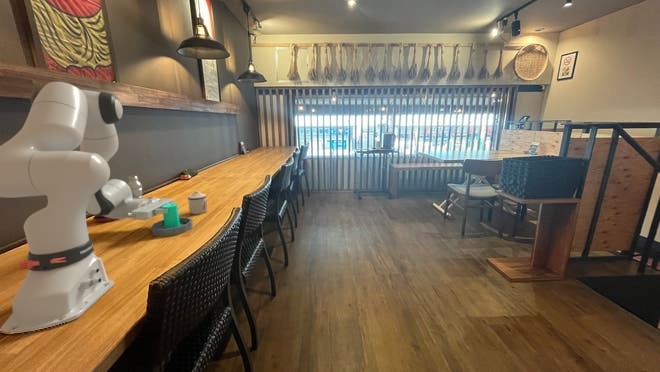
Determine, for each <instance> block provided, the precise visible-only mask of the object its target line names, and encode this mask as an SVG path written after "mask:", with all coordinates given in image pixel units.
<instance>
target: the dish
mask: <svg viewBox="0 0 660 372" xmlns="http://www.w3.org/2000/svg"><path fill="white" fill-rule="evenodd" d="M179 221H180V226H179V227H175V228H168V229H165V224H164V219H162V220H159V221H156V222H154V223H152V225H151V226H150V228H151V233H152V235H154V236H155V237H169V236H170V237H171V236H176V235H180V234H183V233H187V232H188V231H190V230H192V229H193V226H194V225H193V224H194V223H193V222H194V221H193V219H192V218H191V217H187V216H186V217H184V216H179Z"/></svg>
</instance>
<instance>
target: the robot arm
mask: <svg viewBox="0 0 660 372" xmlns="http://www.w3.org/2000/svg"><path fill="white" fill-rule="evenodd" d="M30 94H31V95H30V105H31V107H30V111H29V113H28V115H27V118H26V120H25V122H24V124H23V126H22V128H21V129H20V130H19V131H18V132H17V133H16V134H15V135H14V136H13V137H11V138H10V139H9V140H7V141H6V142H4V143H3V144H2V145H0V198H8V199H9V198H10V199H11V198H25V197H27V198H28V197H38V196H46V197H47V205H46V207H43V208H41V209H40V210H37V211H35V212H34V213H32V214H30V215H29V216H28V217H27V219H26V220H25V221H24V224H23V231H24V234H25V238H26V243H27V245H28V249H29V251H28V252H27V253H28V254H27V258H26V260H22V261H20V262H19V263H18V265H17V266H18V269H19V270H20V271H23V270H28V271H27V273H26V275H25V277H24V279H23V281H22V282H21V283H20V287H18V290H17V292H16V294H15V296H14V298H13V299H12V303H11V304H12V306H11V307H12V313H11V314H10V316H9V317H8V319H6V320H5V322H4V323H3V324H2V326H1V327H0V331H4V332H23V331H30V330H35V329H39V328H45V327H51V326H54V327H56V326H55V325H58V326H60V325H59V324H61V325H63V324H62V323H64V324H66V323H65V322H67V323H69V322H71V321H73V320H76V319H78V318H79V317H81V316H82V315H83V314H84V313H85V312H86V311H88V309H90V307H92V306H93V305H94V304H95V303H96V302H97V301H98V300H99V299H100V298H101V297H103V296H104V294H106V293H107V292H108V291H109V290H110V289H111V288H112V287H114V285H115V281H114V280H113V279H109V278H108V275H107V272H106V269H105V266H104V263H103V260H102V258H100V257H98V256H97V255H96V254H95V253H94V251H95V250H94V249H95V248H94V242H93V241H92V238H91V237H89V231H88V224H87V215H86V213H88V214H89V215H92V216H94V215H95V216H104V217H108V218H113V219H116V220H122V219H123V220H124V219H133V220H137V221H147V220H150V219H152V218H154V217H156V216H159V215H161V214H162V215H163V213H168V212H169V209H162V206H164V205H166V204H169V202H170V204H171V203H172V204H175V200H174V199H173V198H165V197H158V198H157V197H156V196H152V197H150V196H149V197H146V198H143V199H133V194H132V190H131V187H130V185H129V184H128V183H129V182H127V181H125V180H123V179H120V178H111V179H110V176H111V169H110V168H111V167H110V165H109V163H108V162H109V161H110V160H111V158H112V157H114V155H115V154H116V153H117V152H118V150H119V144H120V143H119V137H118V133H117V128H116V127H115V124H117V123H119V122H120V121H121V120H122V116H123V114H124V113H123V111H124V109H123V106H122V105H123V104H121V101H120V99H119V98H118V97H117V96H116V95H115V94H113V93H110V92H106V91H105V92H104V91H101V92H99V91H94V90H88V89H86V90H85V89H80V88H79V87H77V86H76V85H73V84H71V83H68V82H63V81H51V82H48V83H47V84H46V85H45V84H44V86H43V87H40V88H37V89H35V90H34V91H33V92H32V93H30ZM78 147H79V149H80V150H79V151H78V150H75V149H77V148H78ZM95 216H94V217H95ZM15 328H16V329H15ZM51 328H52V327H51ZM12 329H13V330H12Z"/></svg>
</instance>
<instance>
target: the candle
mask: <svg viewBox="0 0 660 372" xmlns="http://www.w3.org/2000/svg"><path fill="white" fill-rule="evenodd" d="M162 209H169V212H168V213H163V214H162V217H163V220H164V224H165V229H168V228H175V227H179V226H180V221H179V217H180V214H179V206H178V203H174V204H172V203H171V204H170V202H169V204H166V205H164V206H162Z"/></svg>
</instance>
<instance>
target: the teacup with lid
mask: <svg viewBox="0 0 660 372" xmlns="http://www.w3.org/2000/svg"><path fill="white" fill-rule="evenodd" d="M187 201H188V209H189V214H191V215H201V214H202V215H203V214H205V213H207V212H208V204H207V202H208V201H207V195H206V193H201V192H199V190H195V191H194V193H192V194H190V195H188V196H187Z"/></svg>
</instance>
